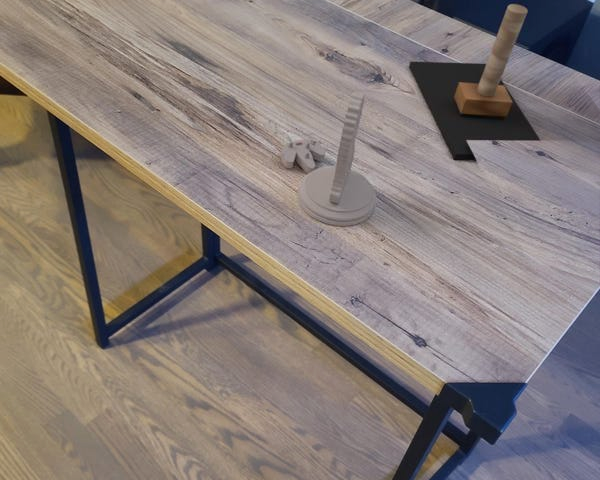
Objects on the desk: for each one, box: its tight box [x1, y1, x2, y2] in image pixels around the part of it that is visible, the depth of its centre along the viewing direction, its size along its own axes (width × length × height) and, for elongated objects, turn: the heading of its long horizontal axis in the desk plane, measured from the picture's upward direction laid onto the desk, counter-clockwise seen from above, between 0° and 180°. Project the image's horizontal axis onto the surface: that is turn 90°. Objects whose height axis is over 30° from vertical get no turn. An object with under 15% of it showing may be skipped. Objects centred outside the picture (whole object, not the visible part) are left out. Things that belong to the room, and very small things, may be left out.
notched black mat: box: [408, 61, 542, 161], centre depth 90 cm, size 14×24×1 cm, turn 8°
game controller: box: [268, 119, 326, 174], centre depth 78 cm, size 6×12×3 cm, turn 46°
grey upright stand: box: [296, 90, 378, 227], centre depth 68 cm, size 10×10×15 cm
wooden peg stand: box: [454, 3, 528, 119], centre depth 83 cm, size 7×4×15 cm, turn 93°
